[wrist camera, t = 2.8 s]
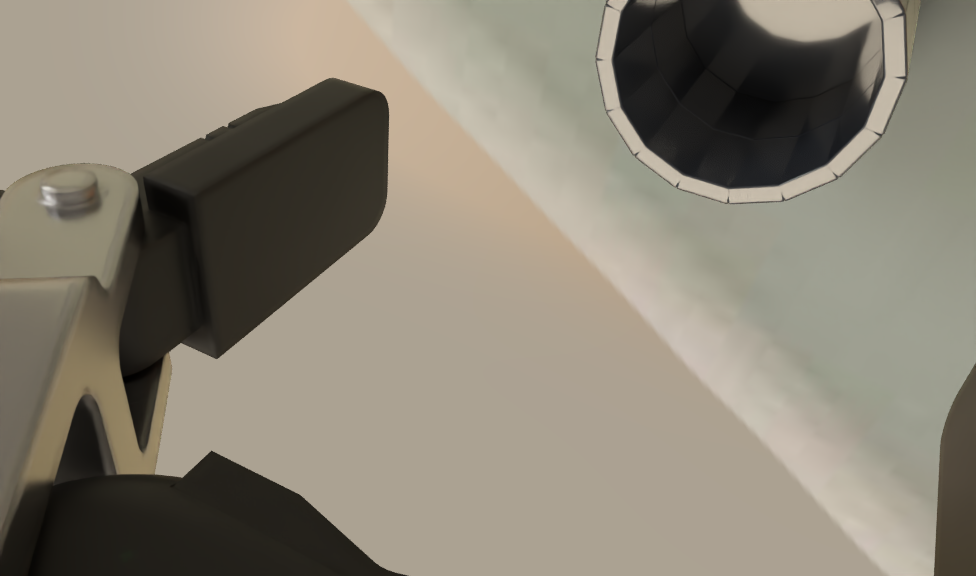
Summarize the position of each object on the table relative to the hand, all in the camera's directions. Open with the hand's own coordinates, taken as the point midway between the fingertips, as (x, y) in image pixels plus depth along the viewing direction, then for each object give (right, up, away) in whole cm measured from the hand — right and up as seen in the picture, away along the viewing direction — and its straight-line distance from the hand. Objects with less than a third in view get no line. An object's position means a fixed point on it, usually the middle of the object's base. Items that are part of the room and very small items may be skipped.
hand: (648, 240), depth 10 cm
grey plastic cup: (+5, +7, +10) cm, 13 cm away
